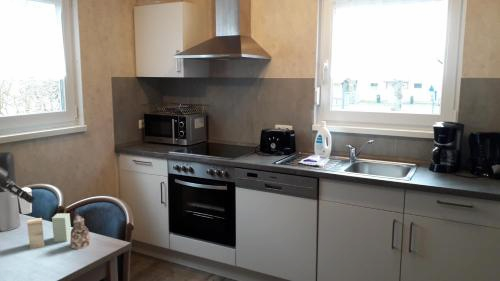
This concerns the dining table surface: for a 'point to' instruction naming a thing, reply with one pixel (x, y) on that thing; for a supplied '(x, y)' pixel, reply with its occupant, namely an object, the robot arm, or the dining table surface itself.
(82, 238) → the figurine
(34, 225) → the beech block
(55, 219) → the sage block
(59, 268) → the dining table surface
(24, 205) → the milkshake
